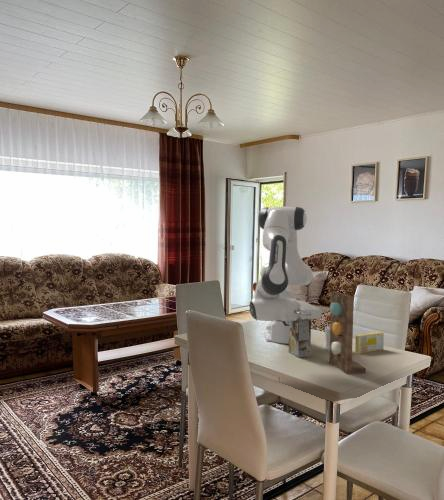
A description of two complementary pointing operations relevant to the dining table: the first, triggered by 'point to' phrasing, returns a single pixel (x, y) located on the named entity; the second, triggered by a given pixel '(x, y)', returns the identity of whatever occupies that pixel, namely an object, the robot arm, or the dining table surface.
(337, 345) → the cream button
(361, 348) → the candy box
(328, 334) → the white cup
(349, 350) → the button panel
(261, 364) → the dining table surface
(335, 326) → the orange button
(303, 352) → the coffee box
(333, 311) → the teal button
